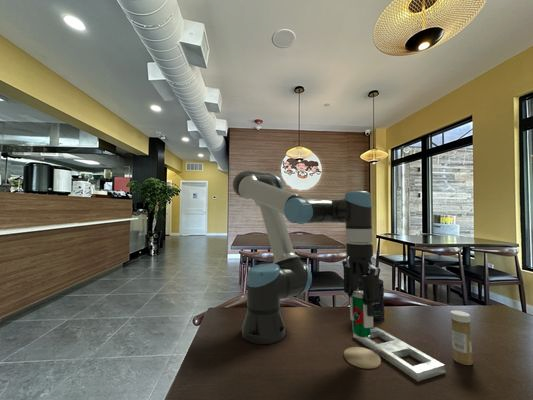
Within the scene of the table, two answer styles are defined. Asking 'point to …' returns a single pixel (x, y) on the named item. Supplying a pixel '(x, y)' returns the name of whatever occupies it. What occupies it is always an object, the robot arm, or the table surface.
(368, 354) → the coaster
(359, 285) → the dark blue canister
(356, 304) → the soda can
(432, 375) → the white flat rectangular frame
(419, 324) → the table surface
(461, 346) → the sprinkles bottle
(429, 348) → the table surface
